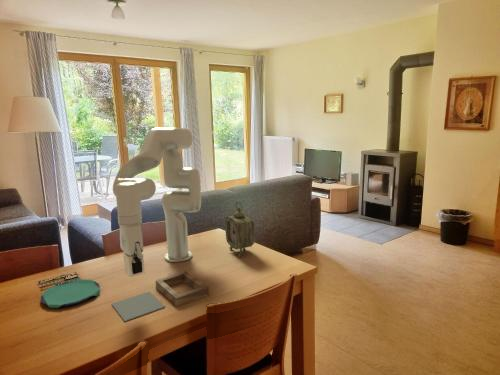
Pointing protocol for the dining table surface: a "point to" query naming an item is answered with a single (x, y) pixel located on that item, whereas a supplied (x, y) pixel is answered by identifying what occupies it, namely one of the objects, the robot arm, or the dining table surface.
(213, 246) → the dining table surface
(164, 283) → the pocket block
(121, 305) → the rubber mat
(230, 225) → the grey lantern
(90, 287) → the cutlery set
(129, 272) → the cream block
